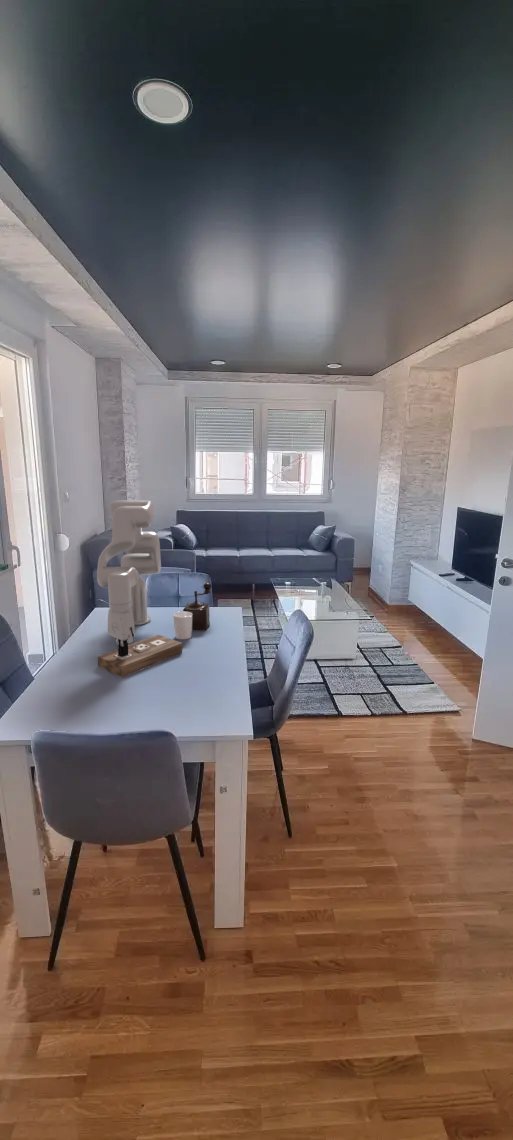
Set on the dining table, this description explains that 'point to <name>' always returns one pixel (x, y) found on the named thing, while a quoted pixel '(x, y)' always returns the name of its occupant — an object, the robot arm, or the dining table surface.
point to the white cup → (183, 625)
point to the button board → (139, 656)
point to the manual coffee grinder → (199, 611)
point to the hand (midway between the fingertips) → (123, 655)
